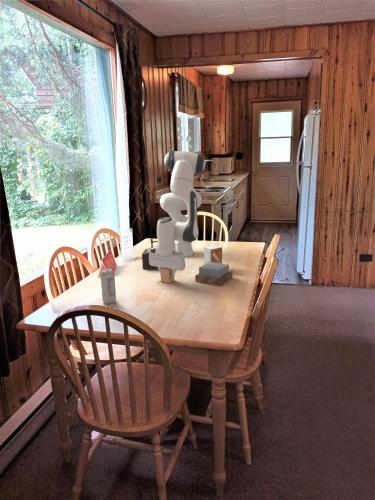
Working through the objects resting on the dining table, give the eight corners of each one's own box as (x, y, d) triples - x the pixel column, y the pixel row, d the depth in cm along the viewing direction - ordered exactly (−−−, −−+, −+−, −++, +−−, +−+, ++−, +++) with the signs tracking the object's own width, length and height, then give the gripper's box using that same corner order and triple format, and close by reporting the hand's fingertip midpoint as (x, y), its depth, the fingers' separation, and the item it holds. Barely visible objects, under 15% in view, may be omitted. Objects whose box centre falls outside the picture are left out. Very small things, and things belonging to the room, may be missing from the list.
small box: (210, 272, 219) (210, 249, 215) (203, 269, 224) (203, 247, 220) (222, 269, 223) (222, 247, 219) (215, 267, 228) (215, 244, 224)
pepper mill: (161, 269, 226) (160, 238, 221) (142, 269, 227) (140, 238, 222) (166, 261, 241) (165, 232, 236) (148, 261, 242) (146, 231, 237)
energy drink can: (110, 298, 187) (107, 267, 183) (119, 301, 183) (116, 269, 179) (100, 302, 182) (97, 270, 178) (108, 305, 178) (106, 273, 174)
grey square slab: (199, 275, 205) (199, 267, 204) (209, 269, 214) (209, 261, 213) (218, 278, 199) (218, 270, 198) (228, 272, 208) (228, 264, 207)
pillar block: (160, 281, 206) (160, 268, 205) (166, 278, 211) (165, 265, 209) (169, 283, 204) (168, 270, 202) (174, 280, 208) (174, 267, 206)
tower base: (195, 282, 206) (195, 275, 205) (208, 274, 217) (208, 267, 216) (220, 287, 198) (220, 279, 197) (232, 278, 210) (232, 271, 209)
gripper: (187, 250, 200) (188, 277, 204) (153, 246, 210) (155, 271, 214) (180, 254, 195) (181, 281, 199) (146, 249, 205) (148, 274, 209)
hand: (167, 276), depth 207 cm, fingers closed on pillar block, 5 cm apart
